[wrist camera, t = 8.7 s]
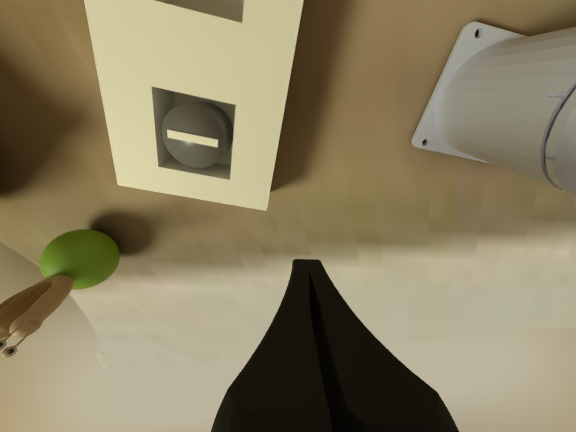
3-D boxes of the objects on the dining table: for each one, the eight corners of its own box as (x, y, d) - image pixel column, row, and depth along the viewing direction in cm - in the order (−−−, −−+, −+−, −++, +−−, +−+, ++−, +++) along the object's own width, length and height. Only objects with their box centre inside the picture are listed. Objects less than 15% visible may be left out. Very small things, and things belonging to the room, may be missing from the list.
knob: (235, 108, 17) (225, 112, 14) (231, 161, 18) (222, 173, 16) (179, 95, 16) (158, 97, 13) (181, 151, 18) (163, 162, 15)
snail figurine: (150, 250, 24) (45, 376, 14) (102, 267, 25) (-29, 395, 15) (113, 208, 21) (-51, 323, 11) (62, 228, 22) (-131, 350, 12)
